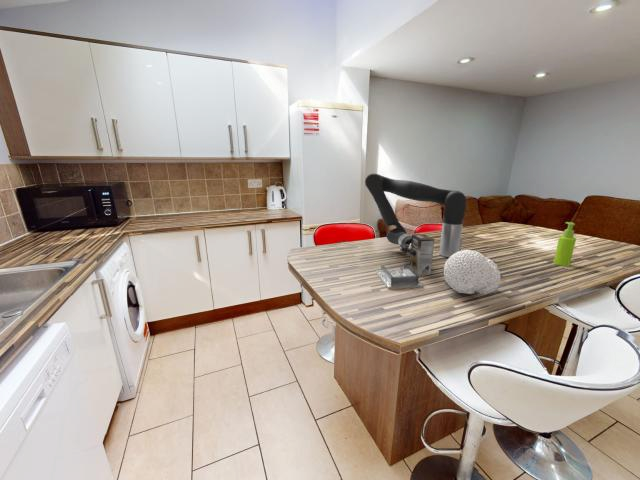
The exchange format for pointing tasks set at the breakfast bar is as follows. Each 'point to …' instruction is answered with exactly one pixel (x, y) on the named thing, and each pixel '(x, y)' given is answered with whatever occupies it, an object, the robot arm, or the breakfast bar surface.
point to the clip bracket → (399, 278)
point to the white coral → (471, 273)
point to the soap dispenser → (565, 247)
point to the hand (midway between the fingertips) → (423, 253)
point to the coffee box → (422, 254)
